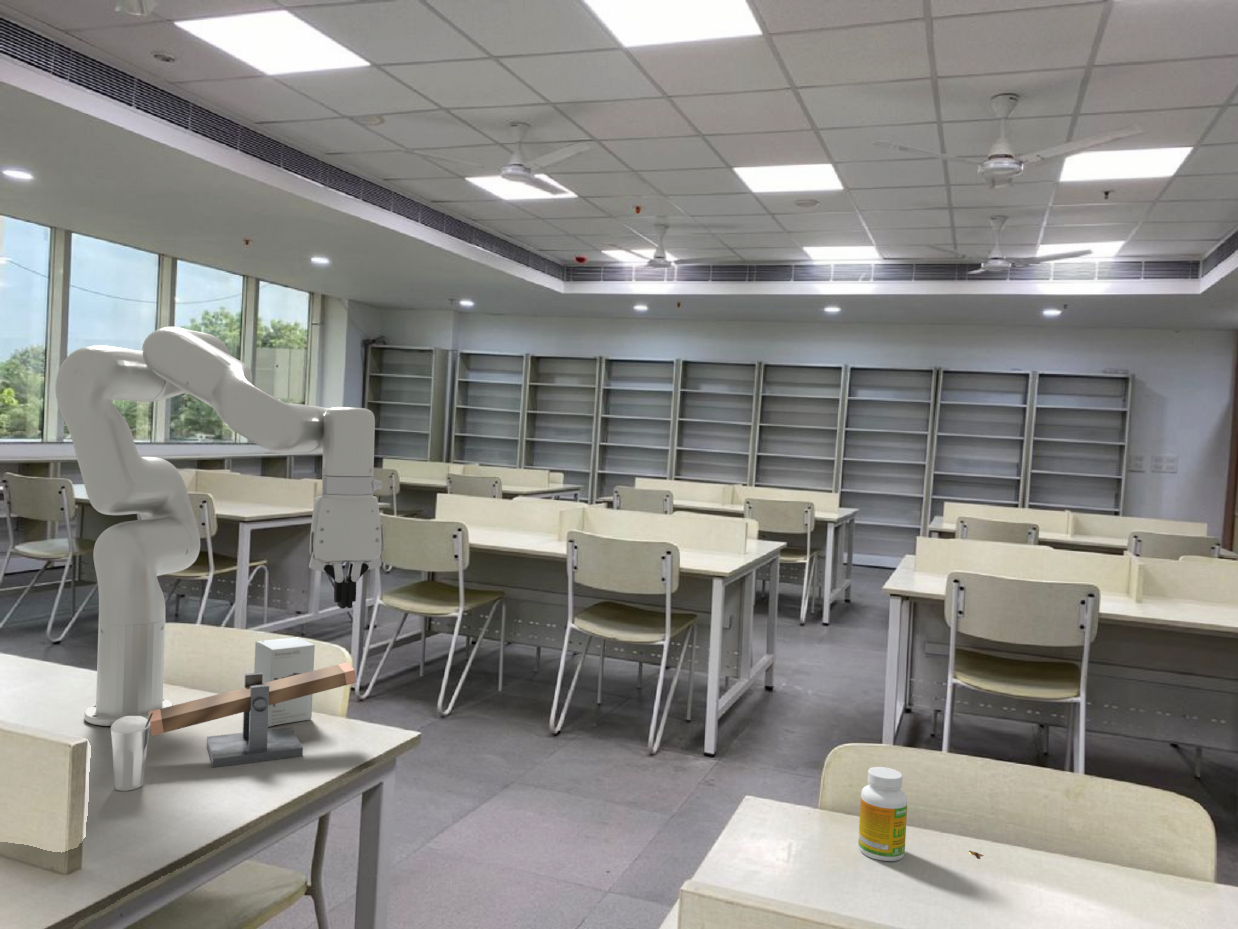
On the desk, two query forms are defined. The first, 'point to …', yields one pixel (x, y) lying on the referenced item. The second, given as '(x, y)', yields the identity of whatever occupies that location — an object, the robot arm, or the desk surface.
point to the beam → (240, 698)
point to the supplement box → (285, 674)
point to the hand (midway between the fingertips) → (344, 606)
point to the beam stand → (254, 733)
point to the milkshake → (129, 751)
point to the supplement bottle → (883, 815)
